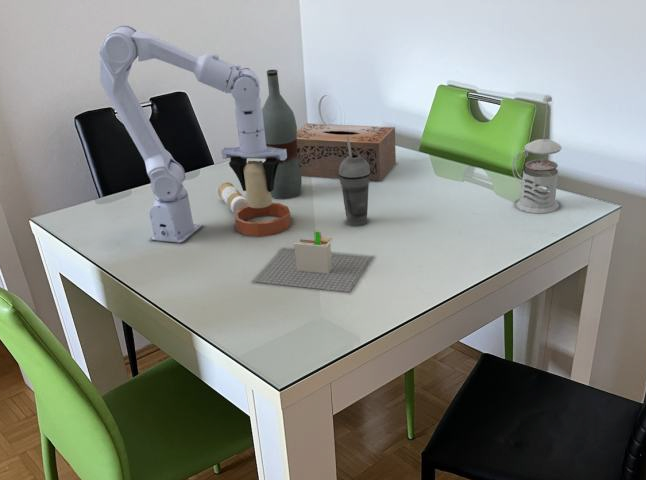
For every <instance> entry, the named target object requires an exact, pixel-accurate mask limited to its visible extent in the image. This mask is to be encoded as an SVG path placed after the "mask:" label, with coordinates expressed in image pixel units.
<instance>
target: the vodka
mask: <svg viewBox="0 0 646 480" xmlns="http://www.w3.org/2000/svg"><path fill="white" fill-rule="evenodd" d="M265 73H266V77H267V78H266V79H267V88H268V96H267V98H266V101H265V103H264V104H263V106H262V113H263V122H264V131H265V139H266V147H272V148H279V149H286V151H287V158H286V159H285V160H280V162H279V165H278V167H277V171H276V175H275V180H274V189H273V190H272V191H271V197H272V199H273V198H274V199H277V200H278V199H279V200H287V199H292V198H295V197H297V196H299V195H300V194H301V189H302V180H303V179H302V177H303V176H301V172H300V167H299V163H298V159H297V130H298V126H297V121H296V117H295V114H294V111H293V109H292V108H291V106H290V105H289V104H288V103H287V101H286V100H285V99H284V97H283V96H282V95H281V91H280V84H279V74H278V73H279V71H278V69H267V70H266V72H265Z"/></svg>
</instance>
